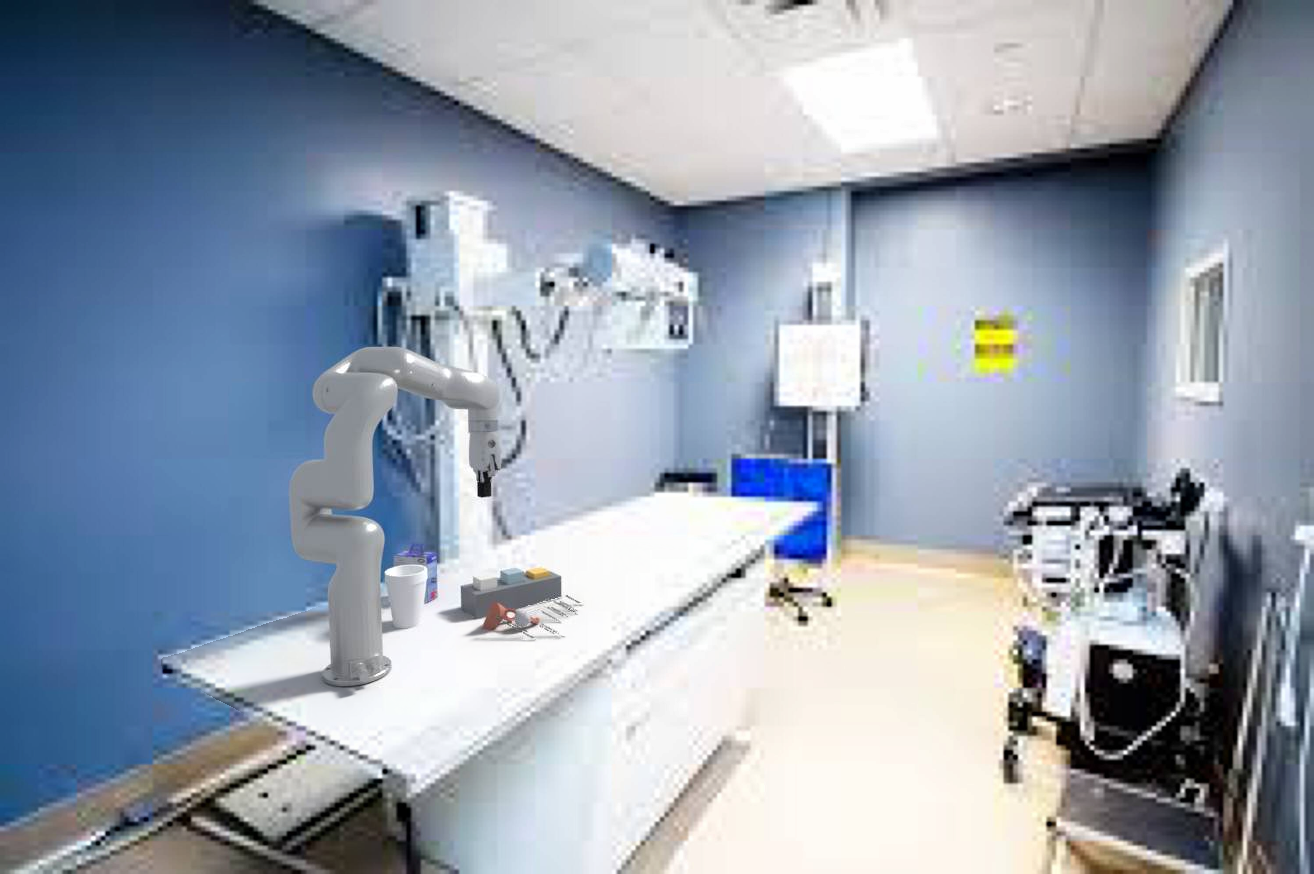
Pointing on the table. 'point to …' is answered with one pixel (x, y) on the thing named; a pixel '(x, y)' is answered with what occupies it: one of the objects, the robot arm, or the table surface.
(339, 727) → the table surface
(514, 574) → the light blue cube
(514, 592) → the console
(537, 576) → the amber button
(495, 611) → the anatomical diagram
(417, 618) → the foam cup
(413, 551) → the ink cartridge box
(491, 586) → the white cube
